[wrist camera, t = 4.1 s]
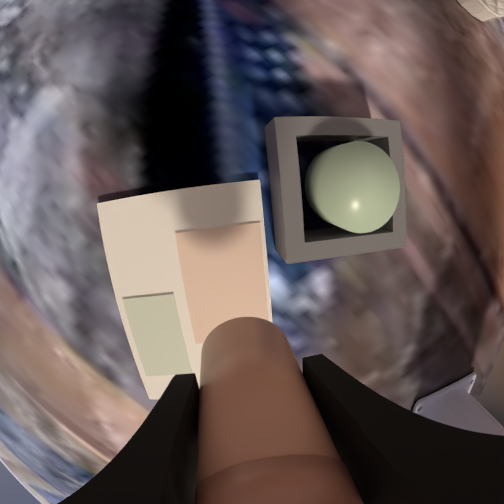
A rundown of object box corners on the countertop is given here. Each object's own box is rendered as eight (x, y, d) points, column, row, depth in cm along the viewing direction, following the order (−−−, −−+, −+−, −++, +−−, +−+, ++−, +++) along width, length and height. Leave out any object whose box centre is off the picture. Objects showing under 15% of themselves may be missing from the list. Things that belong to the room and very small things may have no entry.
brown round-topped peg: (292, 380, 11) (353, 534, 4) (209, 393, 10) (216, 559, 4) (287, 307, 10) (382, 482, 3) (191, 322, 9) (170, 520, 3)
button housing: (380, 236, 15) (405, 247, 12) (275, 249, 14) (287, 263, 12) (373, 127, 13) (399, 121, 11) (264, 128, 13) (274, 117, 10)
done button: (377, 221, 13) (400, 229, 11) (307, 228, 13) (323, 238, 11) (373, 146, 12) (396, 142, 10) (300, 146, 12) (316, 141, 10)
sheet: (276, 384, 16) (277, 388, 16) (150, 396, 16) (149, 400, 15) (258, 179, 13) (260, 179, 13) (99, 202, 13) (96, 203, 12)
